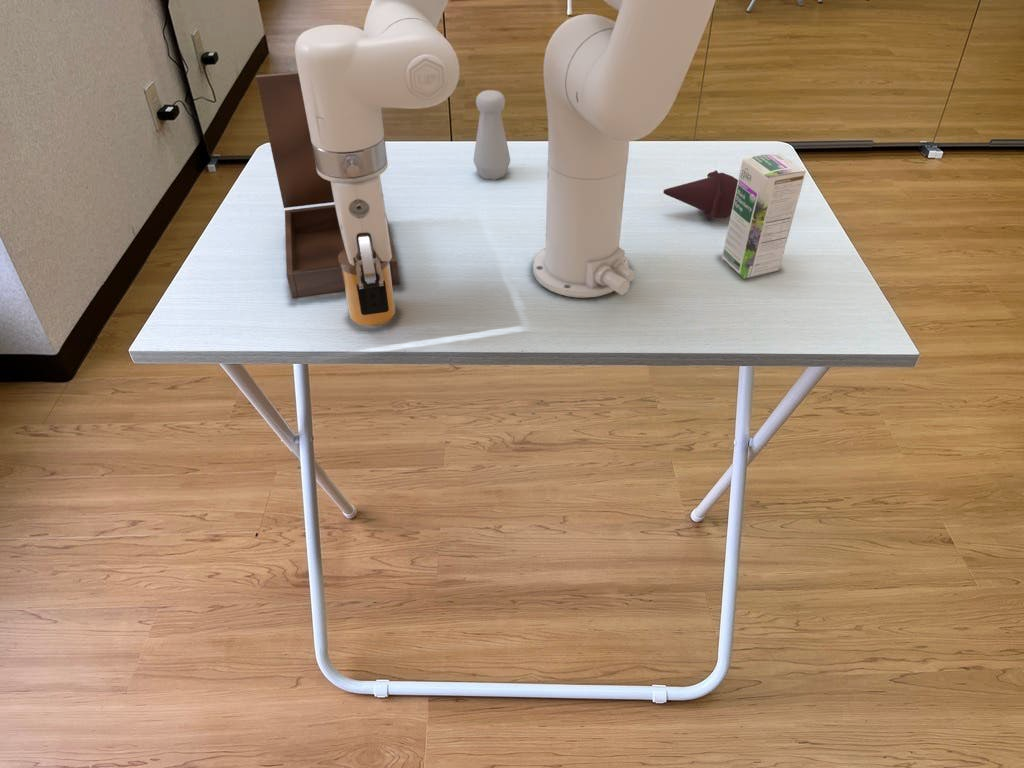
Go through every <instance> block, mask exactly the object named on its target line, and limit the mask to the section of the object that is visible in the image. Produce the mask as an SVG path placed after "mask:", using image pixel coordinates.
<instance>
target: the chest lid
mask: <svg viewBox="0 0 1024 768" xmlns="http://www.w3.org/2000/svg"><path fill="white" fill-rule="evenodd" d="M255 79H256V84H257V85H256V86H257V89H258V93H259V99H260V103H261V108H262V112H263V117H264V123H265V127H266V131H267V136H268V140H269V145H270V150H271V154H272V159H273V164H274V169H275V174H276V178H277V182H278V187H279V192H280V197H281V201H282V205H283V206H282V207H283V209H288V208H289V209H290V208H298V207H305V206H314V205H324V204H331V203H334V198H333V192H332V187H331V181H328V180H326V179H323V178H322V177H321V176H319V175H318V173H317V169H316V164H315V159H314V153H313V148H312V143H311V137H310V132H309V127H308V121H307V116H306V111H305V105H304V100H303V95H302V89H301V84H300V79H299V73H298V71H293V72H281V73H269V74H268V73H267V74H257V75H255Z"/></svg>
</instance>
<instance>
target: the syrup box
mask: <svg viewBox="0 0 1024 768" xmlns="http://www.w3.org/2000/svg"><path fill="white" fill-rule="evenodd" d="M806 173H807V172H806V169H803V168H801V167H800V166H798V165H797V164H795V163H794V162H792V160H790V159H788V158H787V157H785V156H784V155H782V154H781V153H780V152H770V153H763V154H762V153H761V154H755V155H753V156H749V157H746V158H743V159H742V160H741V166H740V170H739V174H738V178H737V180H738V183H737V188H736V193H735V198H734V203H733V207H732V212H731V216H729V222H728V225H727V230H726V231H727V232H726V235H725V240H724V245H723V249H722V253H721V259H722V260H723V261H725V262H726V263H727V265H728V266H730V268H732V269H733V270H734V271H735V272H736V273H737V274H738V275H739V276H740V277H741V278H742V279H745V280H746V279H749V278H754V277H758V276H762V275H765V274H770V273H774V272H777V271H779V270H780V269H781V268H780V267H781V264H782V261H783V256H784V253H785V249H786V246H787V242H788V238H789V235H790V232H791V228H792V223H793V220H794V217H795V214H796V213H795V212H796V208H797V206H798V202H799V198H800V195H801V190H802V187H803V183H804V180H805V176H806Z"/></svg>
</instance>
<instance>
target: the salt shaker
mask: <svg viewBox="0 0 1024 768" xmlns="http://www.w3.org/2000/svg"><path fill="white" fill-rule="evenodd" d="M475 105H476V109H477V110H478V111H479V118H478V125H477V131H476V139H475V145H474V146H475V147H474V153H473V164H474V166H475V168H476V170H477V172H478V174H479V176H480V177H481V178H482V179H484V180H493V181H496V180H498V179H501V178H504V177H505V175H506V174H507V170H508V168H509V166H510V164H511V156H510V151H509V146H508V141H507V136H506V133H505V127H504V122H503V117H502V111H503V110H504V109H505V105H506V99H505V96H504V94H503V93H502V92H501V91H500V90H494V89H487V90H483V91H481V92H480V93H478V95H477V96H476V99H475Z"/></svg>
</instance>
